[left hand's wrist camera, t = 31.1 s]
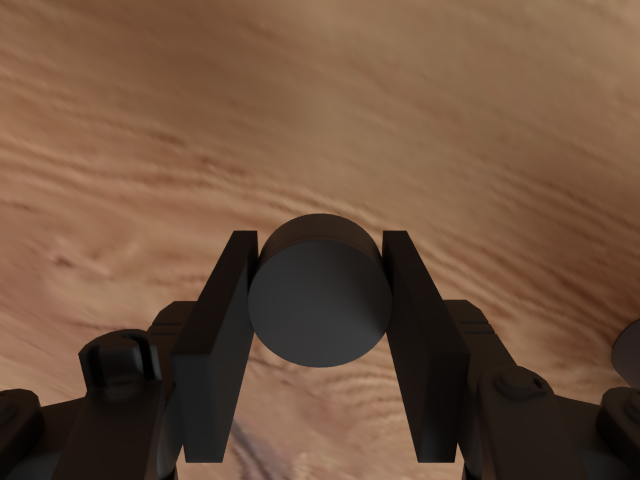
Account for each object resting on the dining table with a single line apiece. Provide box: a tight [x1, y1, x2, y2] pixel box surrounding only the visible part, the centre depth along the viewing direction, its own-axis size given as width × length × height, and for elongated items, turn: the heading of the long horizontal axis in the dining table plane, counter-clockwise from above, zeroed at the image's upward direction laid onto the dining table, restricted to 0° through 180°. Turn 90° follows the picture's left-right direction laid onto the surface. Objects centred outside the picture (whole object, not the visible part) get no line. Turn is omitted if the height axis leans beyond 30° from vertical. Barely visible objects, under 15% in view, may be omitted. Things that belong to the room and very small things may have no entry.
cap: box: [248, 214, 393, 368], centre depth 13 cm, size 4×4×2 cm
